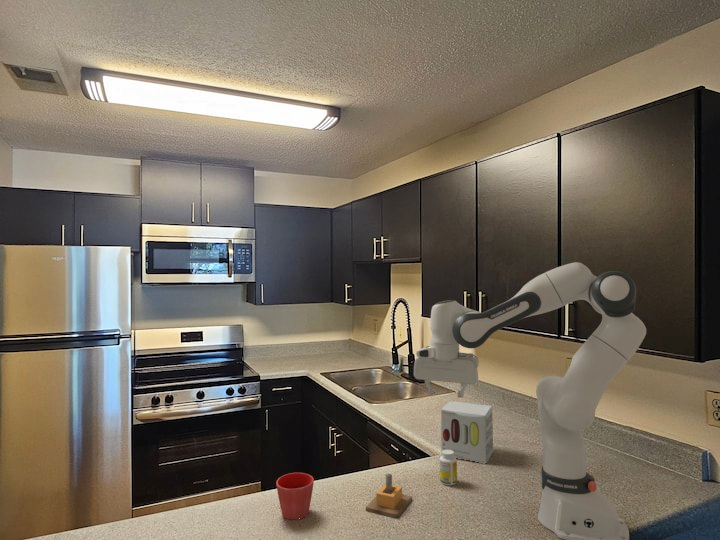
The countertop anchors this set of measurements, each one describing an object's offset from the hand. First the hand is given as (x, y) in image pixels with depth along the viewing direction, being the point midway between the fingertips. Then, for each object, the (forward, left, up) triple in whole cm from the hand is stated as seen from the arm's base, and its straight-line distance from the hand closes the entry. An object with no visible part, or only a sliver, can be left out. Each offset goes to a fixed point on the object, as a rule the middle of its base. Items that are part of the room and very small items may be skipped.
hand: (445, 395), depth 145 cm
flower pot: (+37, +30, -31) cm, 57 cm away
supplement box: (+2, -34, -31) cm, 46 cm away
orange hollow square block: (+14, +14, -30) cm, 36 cm away
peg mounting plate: (+14, +14, -31) cm, 37 cm away
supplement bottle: (+2, -8, -31) cm, 32 cm away
